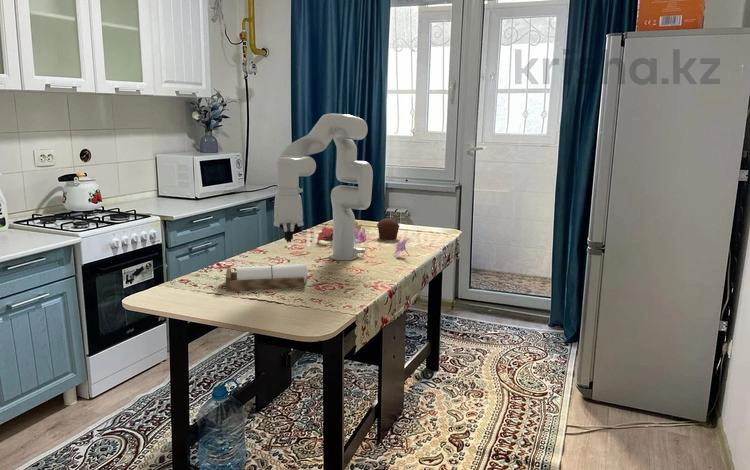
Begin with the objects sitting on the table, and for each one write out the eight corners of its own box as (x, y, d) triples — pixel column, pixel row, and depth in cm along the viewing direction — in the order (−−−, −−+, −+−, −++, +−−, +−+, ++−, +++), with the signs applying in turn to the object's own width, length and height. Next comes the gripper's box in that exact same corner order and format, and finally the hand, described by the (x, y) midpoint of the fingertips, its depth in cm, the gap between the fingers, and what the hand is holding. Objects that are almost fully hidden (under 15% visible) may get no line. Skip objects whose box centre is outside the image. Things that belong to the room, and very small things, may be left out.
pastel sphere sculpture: (321, 234, 292) (321, 216, 290) (366, 235, 291) (366, 218, 289) (314, 246, 267) (314, 227, 265) (364, 247, 267) (364, 228, 265)
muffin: (403, 238, 287) (404, 218, 285) (392, 242, 278) (392, 222, 275) (383, 234, 293) (384, 215, 291) (371, 238, 284) (372, 219, 282)
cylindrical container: (307, 269, 206) (236, 272, 200) (306, 286, 209) (237, 290, 203) (304, 260, 212) (236, 263, 206) (304, 277, 215) (237, 280, 209)
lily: (396, 254, 259) (388, 238, 255) (418, 247, 256) (410, 231, 252) (394, 267, 250) (386, 251, 246) (417, 260, 246) (409, 244, 243)
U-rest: (301, 278, 217) (301, 265, 216) (304, 287, 205) (304, 274, 204) (227, 280, 211) (227, 268, 210) (226, 291, 200) (225, 277, 198)
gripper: (308, 190, 208) (308, 238, 212) (266, 190, 204) (267, 239, 208) (310, 193, 200) (310, 243, 205) (267, 193, 197) (268, 244, 201)
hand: (288, 241), depth 207 cm, fingers closed
